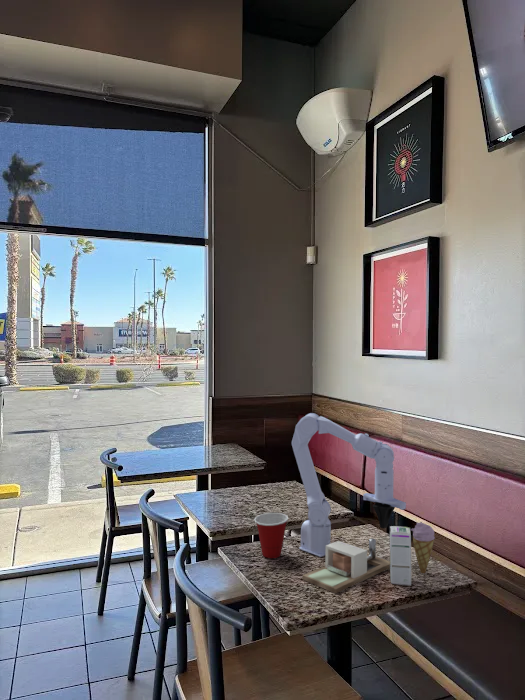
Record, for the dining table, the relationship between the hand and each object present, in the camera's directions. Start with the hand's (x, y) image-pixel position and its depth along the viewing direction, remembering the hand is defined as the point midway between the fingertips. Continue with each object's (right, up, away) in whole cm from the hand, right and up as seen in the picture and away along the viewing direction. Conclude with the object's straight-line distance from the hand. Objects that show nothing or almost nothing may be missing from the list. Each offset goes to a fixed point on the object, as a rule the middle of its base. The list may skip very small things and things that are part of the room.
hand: (383, 527), depth 168 cm
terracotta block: (-15, -7, -14) cm, 22 cm away
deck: (-13, -9, -12) cm, 20 cm away
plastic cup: (-35, -9, +1) cm, 37 cm away
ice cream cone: (+9, -10, -11) cm, 17 cm away
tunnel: (-14, -8, -13) cm, 21 cm away
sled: (-10, -8, -10) cm, 16 cm away
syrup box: (+1, -10, -17) cm, 20 cm away
